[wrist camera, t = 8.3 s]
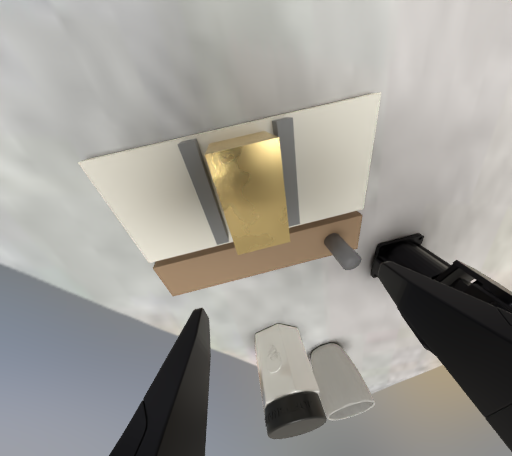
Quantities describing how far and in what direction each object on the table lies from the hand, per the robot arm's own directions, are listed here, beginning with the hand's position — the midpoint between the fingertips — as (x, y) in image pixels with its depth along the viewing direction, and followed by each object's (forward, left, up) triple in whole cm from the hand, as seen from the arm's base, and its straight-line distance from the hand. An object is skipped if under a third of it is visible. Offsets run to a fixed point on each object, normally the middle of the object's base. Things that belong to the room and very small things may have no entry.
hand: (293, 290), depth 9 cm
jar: (+2, +28, -12) cm, 31 cm away
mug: (-9, +41, -12) cm, 44 cm away
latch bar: (+1, -2, -11) cm, 11 cm away
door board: (+1, +1, -12) cm, 12 cm away
